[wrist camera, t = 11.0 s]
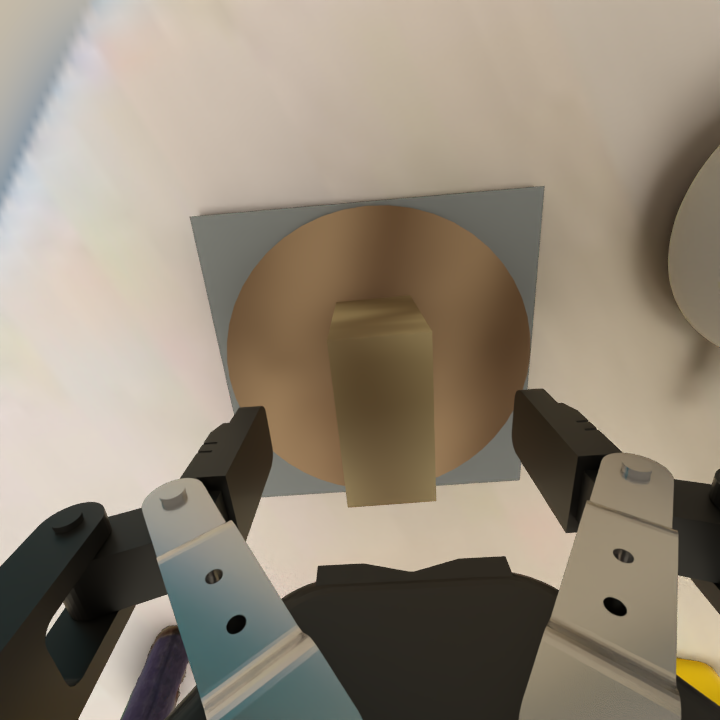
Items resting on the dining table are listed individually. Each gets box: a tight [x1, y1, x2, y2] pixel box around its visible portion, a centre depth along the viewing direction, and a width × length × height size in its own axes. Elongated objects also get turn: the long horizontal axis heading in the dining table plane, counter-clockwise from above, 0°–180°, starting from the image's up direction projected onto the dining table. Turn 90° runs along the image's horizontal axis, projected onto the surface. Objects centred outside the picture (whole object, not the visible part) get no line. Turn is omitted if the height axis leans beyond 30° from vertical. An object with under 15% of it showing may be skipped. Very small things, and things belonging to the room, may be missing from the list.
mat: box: [190, 186, 544, 497], centre depth 18 cm, size 14×14×1 cm
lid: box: [227, 205, 530, 507], centre depth 15 cm, size 13×13×6 cm
